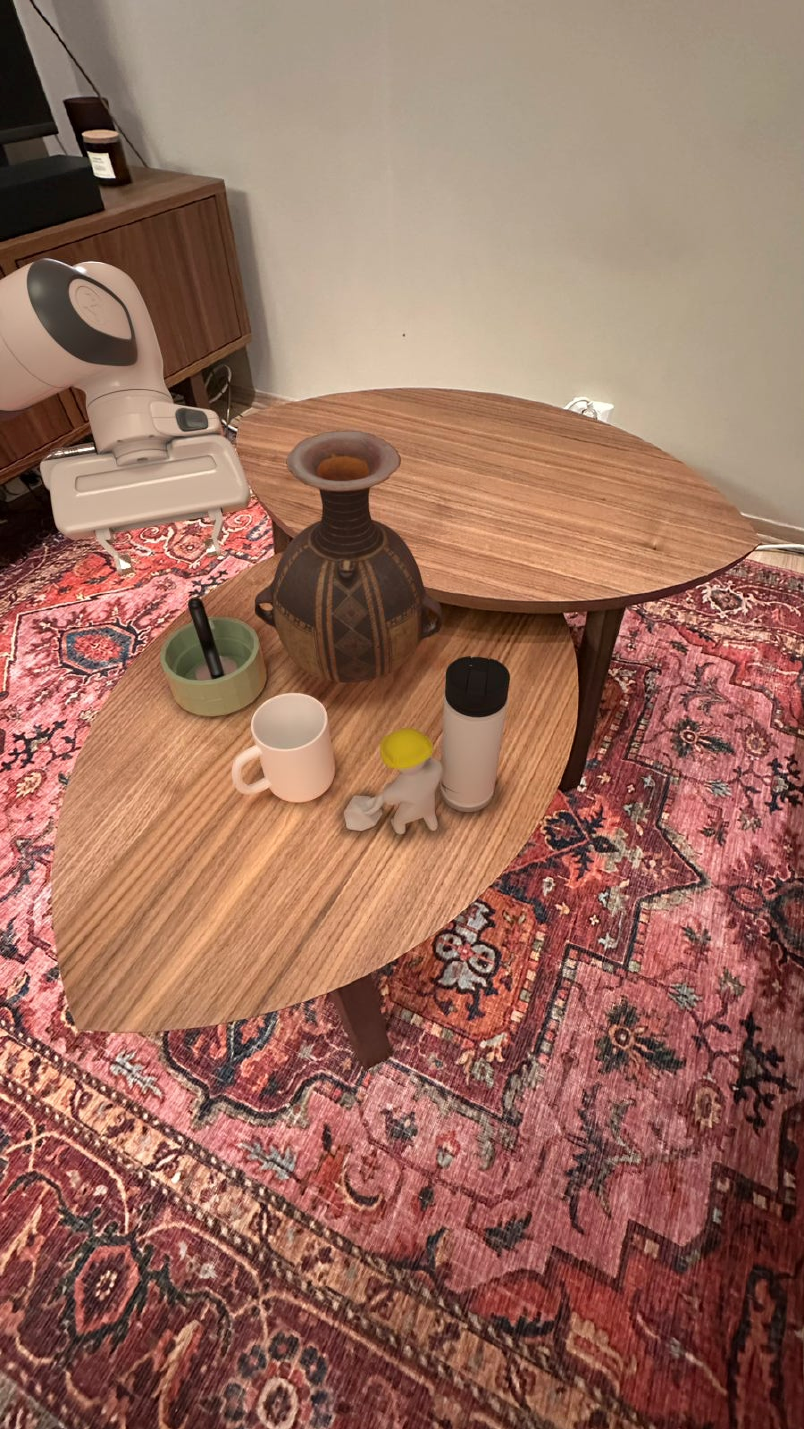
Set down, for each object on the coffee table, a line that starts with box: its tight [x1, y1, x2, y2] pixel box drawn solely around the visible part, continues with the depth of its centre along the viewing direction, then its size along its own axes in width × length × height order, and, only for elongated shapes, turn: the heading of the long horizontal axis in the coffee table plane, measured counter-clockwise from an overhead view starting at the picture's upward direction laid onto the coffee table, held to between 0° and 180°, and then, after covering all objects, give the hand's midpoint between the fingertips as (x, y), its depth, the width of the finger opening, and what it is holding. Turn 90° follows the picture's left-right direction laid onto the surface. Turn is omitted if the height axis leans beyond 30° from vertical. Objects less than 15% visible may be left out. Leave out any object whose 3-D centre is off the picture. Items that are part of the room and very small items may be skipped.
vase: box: [254, 429, 443, 684], centre depth 83 cm, size 23×19×30 cm
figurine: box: [343, 727, 443, 835], centre depth 72 cm, size 10×9×15 cm
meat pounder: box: [187, 596, 238, 681], centre depth 86 cm, size 6×6×14 cm
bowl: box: [159, 616, 268, 717], centre depth 89 cm, size 12×12×6 cm
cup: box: [231, 692, 336, 803], centre depth 77 cm, size 8×12×10 cm
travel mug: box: [439, 655, 511, 813], centre depth 72 cm, size 6×7×20 cm
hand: (171, 564), depth 74 cm, fingers open, 8 cm apart
